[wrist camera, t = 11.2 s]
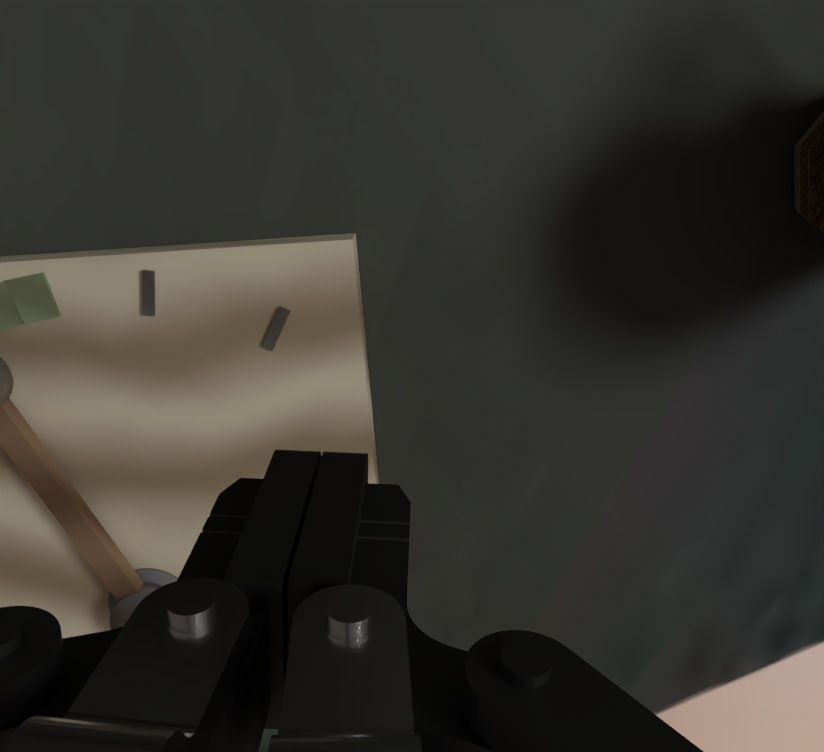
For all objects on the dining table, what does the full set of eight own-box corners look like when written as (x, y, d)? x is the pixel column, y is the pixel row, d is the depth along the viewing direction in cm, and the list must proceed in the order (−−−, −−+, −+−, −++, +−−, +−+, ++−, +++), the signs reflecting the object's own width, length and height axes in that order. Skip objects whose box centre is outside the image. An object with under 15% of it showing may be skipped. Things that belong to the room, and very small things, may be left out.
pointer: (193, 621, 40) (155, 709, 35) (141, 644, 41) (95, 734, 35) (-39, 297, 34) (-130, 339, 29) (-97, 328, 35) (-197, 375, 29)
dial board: (-168, 267, 36) (-196, 276, 34) (355, 233, 35) (352, 240, 33) (-49, 631, 43) (-67, 652, 41) (390, 611, 42) (389, 631, 40)
